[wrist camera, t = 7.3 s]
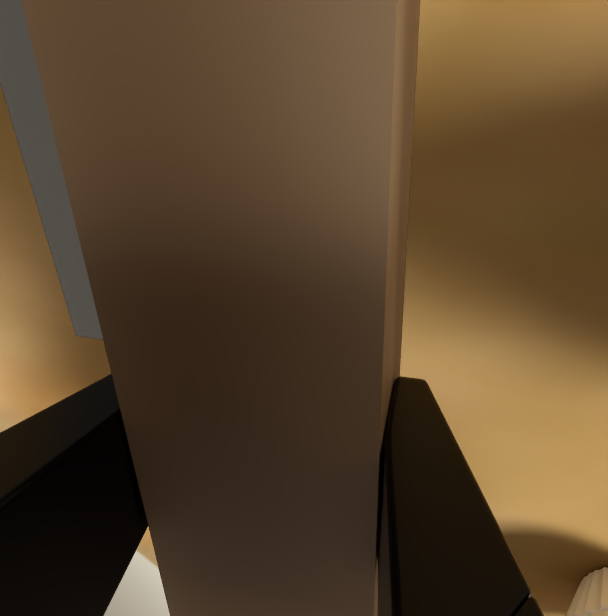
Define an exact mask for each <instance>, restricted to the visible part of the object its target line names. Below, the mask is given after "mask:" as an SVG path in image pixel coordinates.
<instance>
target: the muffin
mask: <svg viewBox="0 0 608 616" xmlns="http://www.w3.org/2000/svg"><path fill="white" fill-rule="evenodd" d="M566 616H608V568H607V567H603V568H602V569H600V570H594V572H592V573H588V576H585V577H584V578H583V580H582V581H581V582H580V585H579V587H578V589H577V591H576V594H575V596H574V598H573V600H572V602H571V605H570V607H569V609H568V611H567V614H566Z"/></svg>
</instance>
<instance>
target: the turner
mask: <svg viewBox="0 0 608 616" xmlns="http://www.w3.org/2000/svg"><path fill="white" fill-rule="evenodd" d="M21 2H22V6H23V10H24V14H25V18H26V22H27V26H28V31H29V35H30V39H31V43H32V47H33V51H34V55H35V60H36V64H37V68H38V72H39V76H40V80H41V84H42V88H43V93H44V97H45V101H46V105H47V109H48V113H49V117H50V121H51V126H52V130H53V134H54V138H55V142H56V146H57V150H58V154H59V159H60V163H61V167H62V171H63V175H64V179H65V183H66V187H67V192H68V196H69V200H70V204H71V208H72V212H73V216H74V221H75V225H76V229H77V233H78V237H79V241H80V245H81V249H82V254H83V258H84V262H85V266H86V270H87V274H88V278H89V282H90V287H91V291H92V295H93V299H94V303H95V307H96V311H97V315H98V320H99V324H100V328H101V332H102V336H103V340H104V344H105V348H106V353H107V357H108V361H109V365H110V369H111V373H112V377H113V381H114V386H115V390H116V394H117V398H118V402H119V406H120V410H121V415H122V419H123V423H124V427H125V431H126V435H127V439H128V443H129V448H130V452H131V456H132V460H133V464H134V468H135V472H136V476H137V481H138V485H139V489H140V493H141V497H142V501H143V505H144V509H145V514H146V518H147V522H148V526H149V530H150V534H151V538H152V542H153V547H154V551H155V555H156V559H157V563H158V567H159V571H160V575H161V579H162V584H163V588H164V592H165V596H166V600H167V604H168V608H169V612H170V616H378V539H379V520H380V501H381V483H382V466H383V449H384V436H385V428H386V423H387V417H388V412H389V407H390V402H391V396H392V391H393V386H394V381H395V379H396V378H397V377H400V359H401V341H402V323H403V305H404V287H405V269H406V251H407V232H408V214H409V196H410V178H411V160H412V142H413V124H414V106H415V88H416V70H417V52H418V34H419V16H420V0H21Z"/></svg>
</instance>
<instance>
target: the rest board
mask: <svg viewBox="0 0 608 616" xmlns="http://www.w3.org/2000/svg"><path fill="white" fill-rule="evenodd" d="M0 84H1V87H2V90H3V94H4V97H5V100H6V104H7V107H8V110H9V114H10V117H11V120H12V124H13V127H14V130H15V134H16V137H17V140H18V144H19V147H20V150H21V154H22V157H23V160H24V164H25V167H26V170H27V174H28V177H29V180H30V184H31V187H32V190H33V194H34V197H35V200H36V204H37V207H38V210H39V214H40V217H41V220H42V224H43V227H44V230H45V234H46V237H47V240H48V244H49V247H50V250H51V254H52V257H53V260H54V264H55V267H56V270H57V274H58V277H59V280H60V284H61V287H62V290H63V294H64V297H65V300H66V304H67V307H68V310H69V314H70V317H71V320H72V324H73V327H74V331H75V334H76V336H80V337H88V338H95V339H103V336H102V332H101V328H100V324H99V320H98V315H97V311H96V307H95V303H94V299H93V295H92V291H91V287H90V282H89V278H88V274H87V270H86V266H85V262H84V258H83V254H82V249H81V245H80V241H79V237H78V233H77V229H76V225H75V221H74V216H73V212H72V208H71V204H70V200H69V196H68V192H67V187H66V183H65V179H64V175H63V171H62V167H61V163H60V159H59V154H58V150H57V146H56V142H55V138H54V134H53V130H52V126H51V121H50V117H49V113H48V109H47V105H46V101H45V97H44V93H43V88H42V84H41V80H40V76H39V72H38V68H37V64H36V60H35V55H34V51H33V47H32V43H31V39H30V35H29V31H28V26H27V22H26V18H25V14H24V10H23V6H22V2H21V0H0Z"/></svg>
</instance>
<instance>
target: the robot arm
mask: <svg viewBox="0 0 608 616" xmlns="http://www.w3.org/2000/svg"><path fill="white" fill-rule="evenodd" d="M147 527H148V522H147V518H146V514H145V509H144V505H143V501H142V497H141V493H140V489H139V485H138V481H137V476H136V472H135V468H134V464H133V460H132V456H131V452H130V448H129V443H128V439H127V435H126V431H125V427H124V423H123V419H122V415H121V410H120V406H119V402H118V398H117V394H116V390H115V386H114V381H113V377H112V374H110V375H108V376H107V377H105V378H103V379H101V380H99V381H97V382H95V383H93V384H91V385H90V386H88V387H86V388H84V389H82V390H80V391H78V392H76V393H74V394H73V395H71V396H69V397H67V398H65V399H63V400H61V401H59V402H57V403H56V404H54V405H52V406H50V407H48V408H46V409H44V410H42V411H40V412H39V413H37V414H35V415H33V416H31V417H29V418H27V419H25V420H23V421H22V422H20V423H18V424H16V425H14V426H12V427H10V428H8V429H6V430H5V431H3V432H1V433H0V616H104V613H105V612H106V609H107V607H108V605H109V603H110V601H111V599H112V597H113V595H114V593H115V591H116V589H117V587H118V585H119V583H120V581H121V579H122V577H123V575H124V573H125V571H126V569H127V567H128V565H129V563H130V561H131V559H132V557H133V555H134V553H135V551H136V549H137V547H138V545H139V543H140V541H141V539H142V537H143V535H144V533H145V531H146V529H147ZM378 616H544V614H543V612H542V610H541V608H540V606H539V604H538V602H537V600H536V599H535V598H534V597H531V589H530V587H529V585H528V583H527V581H526V579H525V577H524V575H523V573H522V571H521V569H520V567H519V565H518V563H517V561H516V559H515V557H514V555H513V553H512V551H511V549H510V547H509V545H508V543H507V541H506V539H505V537H504V535H503V533H502V531H501V529H500V527H499V525H498V523H497V521H496V519H495V517H494V515H493V513H492V511H491V509H490V507H489V505H488V503H487V501H486V499H485V497H484V495H483V493H482V491H481V489H480V487H479V485H478V483H477V481H476V479H475V477H474V475H473V473H472V471H471V469H470V467H469V465H468V463H467V461H466V459H465V457H464V455H463V453H462V451H461V449H460V447H459V445H458V443H457V441H456V439H455V437H454V435H453V433H452V431H451V429H450V427H449V425H448V423H447V421H446V419H445V417H444V415H443V413H442V411H441V409H440V407H439V405H438V403H437V401H436V399H435V397H434V395H433V393H432V391H431V389H430V387H429V385H428V384H427V382H426V381H425V380H423V379H417V378H409V377H397V378H396V379H395V381H394V386H393V391H392V396H391V402H390V407H389V412H388V417H387V423H386V428H385V436H384V449H383V466H382V483H381V501H380V520H379V539H378Z"/></svg>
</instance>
